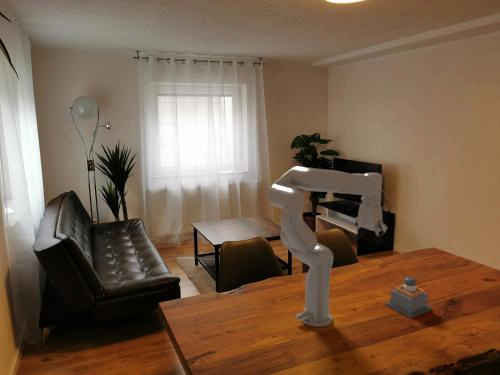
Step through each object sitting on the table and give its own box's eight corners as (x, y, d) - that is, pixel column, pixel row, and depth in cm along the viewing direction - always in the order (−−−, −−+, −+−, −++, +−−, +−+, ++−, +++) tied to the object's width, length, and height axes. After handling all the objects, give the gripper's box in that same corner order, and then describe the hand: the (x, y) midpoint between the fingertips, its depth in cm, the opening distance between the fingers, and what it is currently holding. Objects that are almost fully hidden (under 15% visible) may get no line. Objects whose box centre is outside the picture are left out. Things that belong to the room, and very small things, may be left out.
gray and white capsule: (410, 295, 163) (412, 282, 162) (401, 291, 167) (402, 278, 166) (417, 292, 166) (418, 279, 165) (407, 288, 170) (408, 275, 169)
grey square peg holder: (410, 318, 159) (412, 299, 157) (384, 305, 170) (386, 286, 168) (432, 309, 166) (433, 290, 164) (406, 297, 177) (407, 279, 175)
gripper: (349, 199, 170) (348, 236, 173) (381, 207, 155) (378, 248, 158) (362, 197, 173) (360, 234, 177) (394, 205, 159) (391, 245, 162)
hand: (369, 240), depth 168 cm, fingers open, 9 cm apart
